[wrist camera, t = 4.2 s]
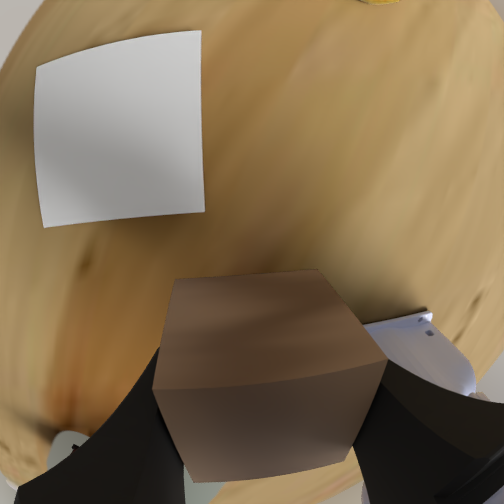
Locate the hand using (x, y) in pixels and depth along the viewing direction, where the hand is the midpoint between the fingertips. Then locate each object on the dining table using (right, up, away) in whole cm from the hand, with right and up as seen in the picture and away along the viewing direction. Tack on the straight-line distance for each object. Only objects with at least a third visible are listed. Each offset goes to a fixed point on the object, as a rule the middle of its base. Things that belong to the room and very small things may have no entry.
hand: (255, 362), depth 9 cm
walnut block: (0, +1, +1) cm, 2 cm away
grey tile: (-8, +10, +4) cm, 13 cm away
